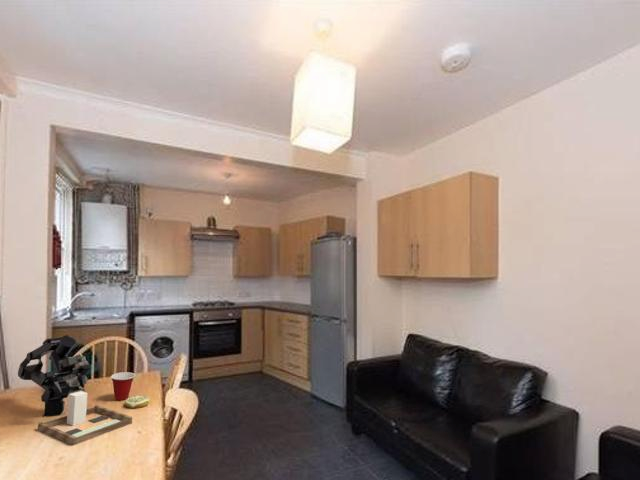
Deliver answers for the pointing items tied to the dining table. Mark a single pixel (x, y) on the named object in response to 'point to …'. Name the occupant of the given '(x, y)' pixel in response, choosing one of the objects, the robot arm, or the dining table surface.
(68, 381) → the apothecary jar
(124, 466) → the dining table surface
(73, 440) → the brown flat frame
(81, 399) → the pale cream block
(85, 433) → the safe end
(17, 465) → the dining table surface
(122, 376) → the plastic cup
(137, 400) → the decorated donut
